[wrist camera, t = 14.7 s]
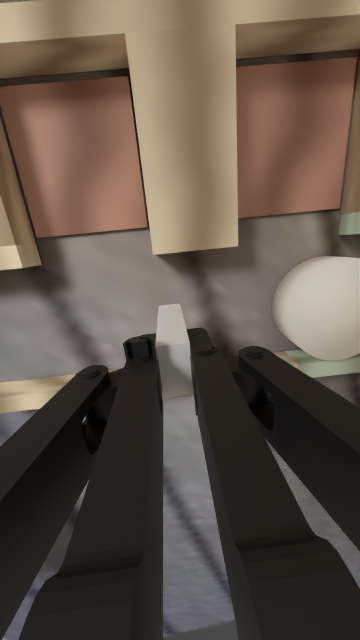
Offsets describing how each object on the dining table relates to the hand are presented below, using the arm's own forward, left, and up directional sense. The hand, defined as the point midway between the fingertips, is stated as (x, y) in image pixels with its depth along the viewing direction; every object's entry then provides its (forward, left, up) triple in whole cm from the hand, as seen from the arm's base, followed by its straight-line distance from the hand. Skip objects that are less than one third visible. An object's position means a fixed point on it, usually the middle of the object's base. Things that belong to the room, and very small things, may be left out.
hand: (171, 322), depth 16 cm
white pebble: (+13, -1, -4) cm, 14 cm away
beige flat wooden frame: (+3, +6, -4) cm, 7 cm away
